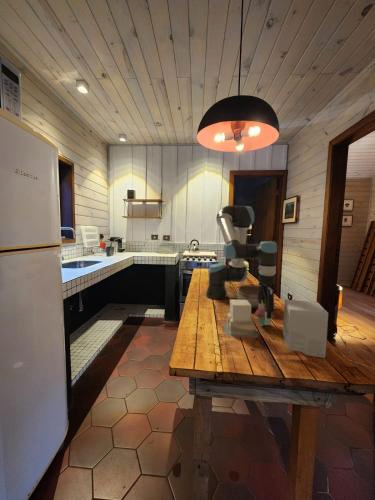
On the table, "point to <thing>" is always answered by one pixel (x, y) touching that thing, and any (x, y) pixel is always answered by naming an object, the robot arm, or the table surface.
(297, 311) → the supplement box
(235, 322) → the maple base block
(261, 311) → the cupcake
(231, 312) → the cream block
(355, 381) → the table surface
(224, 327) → the slate board
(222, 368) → the table surface
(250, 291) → the cooking pot
